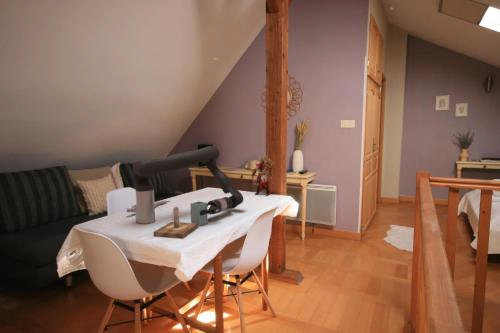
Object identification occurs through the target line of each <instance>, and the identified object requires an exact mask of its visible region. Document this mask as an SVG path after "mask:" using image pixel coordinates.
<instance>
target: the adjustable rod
mask: <svg viewBox="0 0 500 333" xmlns="http://www.w3.org/2000/svg"><path fill="white" fill-rule="evenodd" d="M170 201H171V200H160V201H154V203H155V208H157V206H161V205H164V204H167V203H168V202H170ZM135 205H136V204H134V205H132V206H131V207H128V208H126V212H127V213H133V214H134V213H135Z"/></svg>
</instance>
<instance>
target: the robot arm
mask: <svg viewBox="0 0 500 333" xmlns="http://www.w3.org/2000/svg"><path fill="white" fill-rule="evenodd" d="M219 156H220V150H219V148H217V147H216V146H213V145H212V146H210V145H209V146H207V147H206V146H205V147H202V148H199V149H195V150H190V151H185V152H178V153H175V154H174V153H173V154H171V155H169V156H166V157H165V158H162V159H161V158H160V159H156V160H153V159H152V160H148V159H147V160H146V159H138V160H137V161H135V162H134V163H133V166H132V178H133V184H134V188H135V203H136V204H134V205H135V212H134V214H135V215H134V216H135V223H138V224H150V223H151V224H152V223H154V222H155V221H156V207H155V203H154V202H155V189H154V188H155V186H154V184H153V182H152V180H151V178H152V177H155V176H156V175H160V174H163V173H169V172H175V171H180V170H185V169H188V168H190V167H192V166H194V165H196V164H198V163H200V162H202V163H203V165H204V166H205V167H206V169H207V170H208V171H209V172H210V173H211V175H212V176H213V177H214V179H215V180H216V181H217V184H218V185H219V186H220V189H221V190H222V192H223V194H231V196H229V197H228V196H225V197H222V198H216V199H212V200H208V201H207V202H206V203H207V209H206V210H202V211H200V215H205V214H207V215H216V214H218V213H221V212H224V211H226V210H230V209H231V210H232V209H235V208H236V207H238V206H240V205H241V204H243V202H244V196H243V194H242V193H241V192H240V191H239V190H238V189H237V188H236V187H235V186H234V184H233V182H232V181H231V179H230V178H229V176H228V175H227V174H226V173H225V172H223V171H222V170H221V169H220V168H219V167H218V166H217V164H216V161H217V159H218V158H219Z"/></svg>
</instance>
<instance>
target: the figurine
mask: <svg viewBox="0 0 500 333" xmlns="http://www.w3.org/2000/svg"><path fill="white" fill-rule="evenodd" d="M274 165H275V164H274V163H273V160H272V159H270V157H268V154H266V155H263V157H262V158H260V159H259V163H255V167H254V169H252V172H251V179H252V180H254V177H255V176H256V174H257V176H256V179H255V180H256V182H255V183H256V184H255V185H256V192H255V194H254V195H255V196H259V195H260V192H261V191H263V190H265V191H266V192H265V194H264V195H265V196H267V197H268V196H270V189H269V188H270V187H269V186H270V185H269V184H270V180H271V181H272V180H273V179H274V170H273V169H274ZM257 171H258V173H257ZM267 171H268V175H269V178H268V177H267V173H266V172H267ZM269 179H270V180H269Z"/></svg>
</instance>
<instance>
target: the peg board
mask: <svg viewBox="0 0 500 333" xmlns="http://www.w3.org/2000/svg"><path fill="white" fill-rule="evenodd" d="M172 210H173V212H172V213H173V221H170V222H168V223H166V224H165V225H163V226H161V227H160V228H158V229H156V230H154V231H153V237H159V236H160V238H171V237H172V239H173V238H174V239H185V238H186V237H187V236H189V235H190V234H192V233H193V232H194V231H196V230H197V229H199V226H198V223H191V222H180V209H179V206H174V207H173V209H172ZM188 234H189V235H188Z"/></svg>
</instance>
